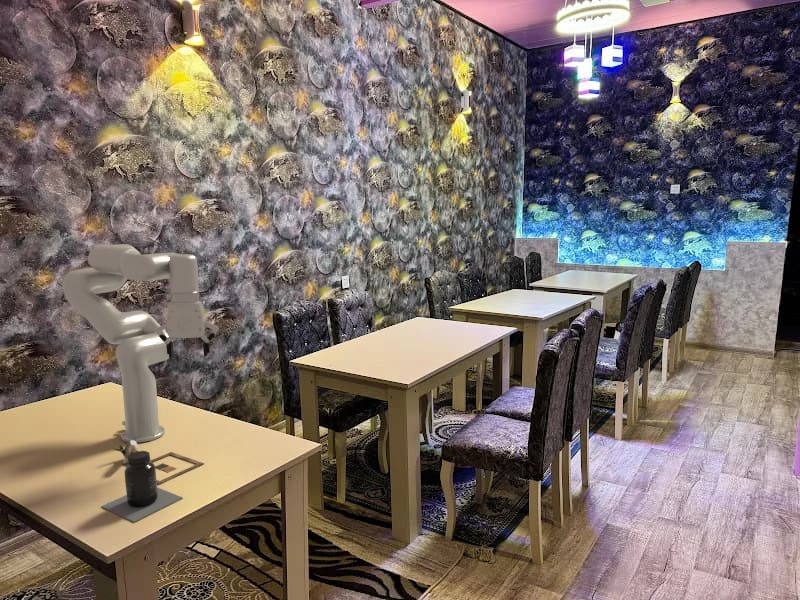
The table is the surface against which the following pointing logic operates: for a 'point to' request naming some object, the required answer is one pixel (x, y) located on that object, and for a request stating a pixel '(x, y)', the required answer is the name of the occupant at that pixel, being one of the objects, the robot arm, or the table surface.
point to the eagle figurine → (127, 449)
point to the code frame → (170, 468)
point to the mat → (139, 513)
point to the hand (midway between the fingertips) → (188, 356)
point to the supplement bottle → (140, 480)
